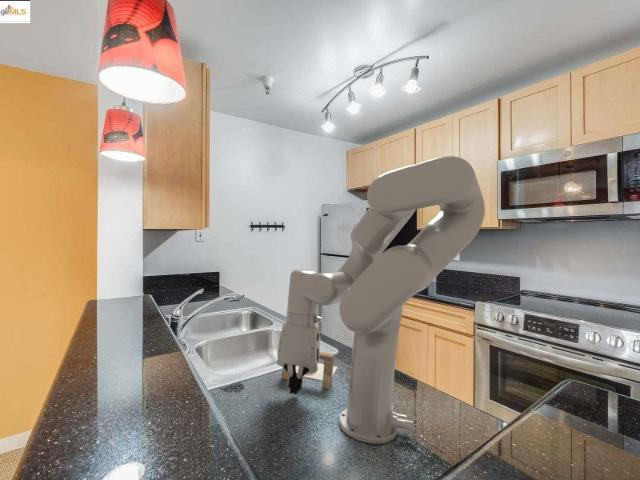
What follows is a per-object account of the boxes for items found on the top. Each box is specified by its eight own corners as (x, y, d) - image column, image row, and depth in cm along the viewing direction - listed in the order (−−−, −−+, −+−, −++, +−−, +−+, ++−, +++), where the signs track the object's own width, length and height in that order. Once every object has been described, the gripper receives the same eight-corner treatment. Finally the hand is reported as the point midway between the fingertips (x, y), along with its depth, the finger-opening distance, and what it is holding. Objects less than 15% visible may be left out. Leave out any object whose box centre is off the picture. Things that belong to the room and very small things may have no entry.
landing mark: (337, 367, 99) (337, 366, 99) (329, 382, 88) (329, 381, 88) (302, 360, 103) (302, 360, 103) (289, 374, 91) (289, 373, 91)
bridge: (285, 374, 90) (288, 345, 91) (331, 384, 87) (334, 353, 87) (281, 378, 88) (284, 348, 88) (329, 389, 84) (331, 357, 84)
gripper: (333, 320, 79) (327, 391, 79) (279, 311, 83) (273, 379, 83) (326, 326, 72) (319, 405, 72) (267, 317, 76) (261, 391, 76)
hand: (294, 391), depth 77 cm, fingers closed
